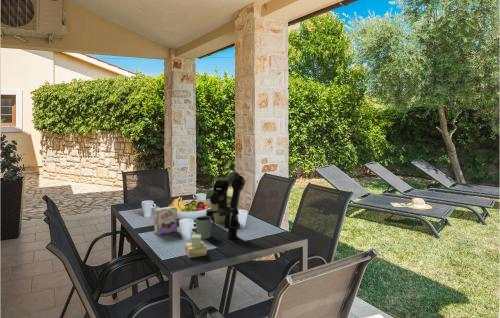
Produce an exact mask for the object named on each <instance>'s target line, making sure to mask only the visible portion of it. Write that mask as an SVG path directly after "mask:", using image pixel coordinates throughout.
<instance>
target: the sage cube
mask: <svg viewBox="0 0 500 318" xmlns="http://www.w3.org/2000/svg"><path fill="white" fill-rule="evenodd" d="M201 241H202V239H201V235H197V234H191V242H192V247H194V246H201Z"/></svg>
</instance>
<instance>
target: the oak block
mask: <svg viewBox="0 0 500 318" xmlns="http://www.w3.org/2000/svg"><path fill="white" fill-rule="evenodd" d="M207 250H208V246H207V245H206V244H205V243H204V242H203V240H201V246H194V247H192V241H191V242H185V243H184V253H185V254H186V256H187V257H188V258H196V257H202V256H207V255H208V253H207V252H208V251H207Z"/></svg>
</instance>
